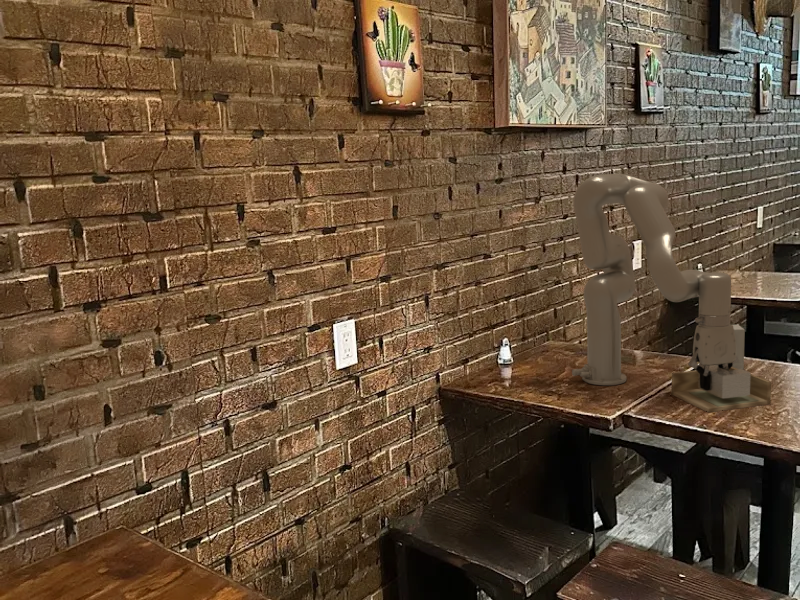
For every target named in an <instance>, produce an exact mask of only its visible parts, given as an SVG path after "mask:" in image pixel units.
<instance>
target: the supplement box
mask: <svg viewBox="0 0 800 600" xmlns="http://www.w3.org/2000/svg"><path fill="white" fill-rule="evenodd" d="M732 325H733V328H734V332H735V339H736V356H737V358H738V361H737V362H736V363H735V364H733V365H732V367H734V368H737V369H742V370H745V367H744V366H745V339H746V338H745V331H746V329H744V328H743V326H740V325H739V324H732ZM714 366H717V367H718V365H714Z"/></svg>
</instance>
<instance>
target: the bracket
mask: <svg viewBox="0 0 800 600" xmlns="http://www.w3.org/2000/svg"><path fill="white" fill-rule="evenodd" d="M750 374H752V373H751V372H750V371H747V370H745V369H744V370H742V369H738V370H730V371H727V370H724V369H722V368H719V367H717V366H714V365H710V367H709V372H708V376H710V390H708V391H706V390H704V389H702V388H701V387H700V374H699V373H698V388H700V389H702V390H704V391H706V392H708V393H711V394H713V395H715V396H717V397H720V398H722V399H724V398H731V397H739V396H747V395H750Z"/></svg>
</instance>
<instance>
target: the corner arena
mask: <svg viewBox="0 0 800 600" xmlns="http://www.w3.org/2000/svg"><path fill="white" fill-rule="evenodd" d="M730 370H738V369H737V368H734V367H731V368H730V369H729V371H730ZM671 395H672V396H675V397H676V398H678V399H680V400H682V401H684V402H685V403H688V404H690V405H692V406H694V407H696V408H698V409H700V410H703V411H704V412H706V411H707V412H706V413H713V411H715V412H722V410H723V411H729V410H730V411H731V410H735V409H743V408H752V407H758V406H759V407H760V406H765V405H766V406H767V405H771V403H772V402H771V398H772V397H771V396H772V381H771V380H768V379H765V378H763V377H760V376H757V375H754V374H752V373H751V374H750V395H747V396H739V397H731V398H724V399H722V398H720V397H717V396H715V395H713V394H711V393H708V392H706V391H704V390H702V389H700V388H698V372H697V371H696V370H695V369H694V370H687V371H680V372H679V371H678V372H672V373H671Z"/></svg>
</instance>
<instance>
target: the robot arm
mask: <svg viewBox="0 0 800 600" xmlns="http://www.w3.org/2000/svg"><path fill="white" fill-rule="evenodd" d="M613 204H620V205H623V206H624V208H625V210H626V211H627V214H628V215H629V218H630V220H631V221H632V223H633V224H634V226H635V228H636V231H637V232H638V234H639V235H640V238H641V240H642V242H643V244H644V246H645V254H646V255H645V256H646V262H647V268H648V270H649V274H650V276H651V278H652V280H653V282H654V283H655V285H656V287H657V289H658V291H659V292H660V294H661V295H662V296H663V297H664V299H666V300H668V301H670V302H672V303H681V302H684V301H687V300H690V299H694V298H698V317H696V318H695V319H694V321H695V323H697V324H698V325H696V327H695V331H694V337H693V344H692V356H691V358H690V360H689V361H688V366H689V367H690V368H691V367H692V368H693V369H694V370H696V371H697V372H698V373H699V374H700V387H701V388H702V389H704V390H706V391H708V390H710V376H708V372H709V367H710V365H718V367H719V368H722V369H724V370H727V371H729V369H730V368H731V367H732V365H733V364H735V363H736V362H737V361H738V358H737V356H736V339H735V332H734V328H733V325H734V324H731V306H732V302H731V301H732V277H731V275H730V274H728V273H725V272H719V271H718V272H717V271H715V272H706V271H702V270H697V269H685V270H680V269H679V267H678V266H677V263H676V260H675V258H674V256H673V242H674V239H675V237H676V229H675V227H674V225H673V224H672V221H671V220H670V218H669V216H668V215H667V212H666V211H665V209H666V208H667V206H668V205H669V195H668V192H667V190H666V189H665V188H664V187H663V186H662V185H660V184H658V183H655V182H651V181H648V180H645V179H641V178H638V177H635V176H632V175H628V174H625V173H609V174H608V173H607V174H605V173H604V174H597V175H593V176H590V177H588V178H587V179H585V180H583V181H582V183H580V184H579V186H578V187H577V188H576V191H575V193H574V196H573V210H574V215H575V219H576V223H577V228H578V235H579V237H578V238H579V243H580V249H581V254H582V255H581V256H582V260H583V262H584V265H585V266H586V267H587V268H588V269H590V270H595V271H599V270H602V273H600V274H597V275H595V276H592V277H591V278H589V280H588V281H586V283H585V285H584V289H583V300H584V305H585V309H586V312H585V313H586V332H587V336H586V341H587V342H586V343H587V345H586V346H587V347H586V349H587V352H586V353H587V354H586V355H587V357H586V358H587V363H585V364H583V367H581V368H575V369H571V375H572V377H576V376H580V377H581V379H582V381H584V382H585V383H588V384H591V385H595V386H617V385H620V384H624V383H625V382H626V381H627V375H626V374H625V373H623V372H622V320H621V315H620V311H619V307H618V304H620V303H623V302H626V301H627V300H629V299H631V298H632V297H633V295H634V292H635V289H636V278H635V274H634V267H633V262H632V261H633V260H632V255H631V250H630V246H629V244H628V242H627V241H626V240H625V239H624V238H623V237H622V236H621V235H618V234H612V233H610V229H609V221H608V218H607V215H606V213H605V212H604V210H603V207H604V206H605V205H613ZM698 363H699V364H698Z"/></svg>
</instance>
